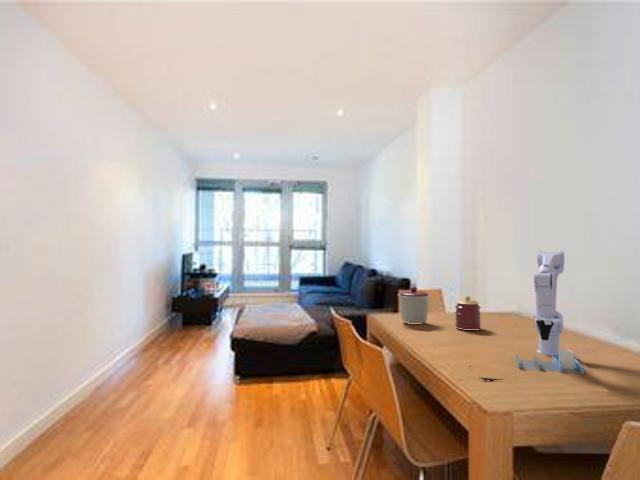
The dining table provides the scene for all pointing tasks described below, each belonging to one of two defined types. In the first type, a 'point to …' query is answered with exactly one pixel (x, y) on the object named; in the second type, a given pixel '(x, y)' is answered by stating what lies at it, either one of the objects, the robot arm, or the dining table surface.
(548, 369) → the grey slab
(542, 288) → the robot arm
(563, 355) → the block
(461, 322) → the canister
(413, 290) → the canister
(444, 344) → the dining table surface
